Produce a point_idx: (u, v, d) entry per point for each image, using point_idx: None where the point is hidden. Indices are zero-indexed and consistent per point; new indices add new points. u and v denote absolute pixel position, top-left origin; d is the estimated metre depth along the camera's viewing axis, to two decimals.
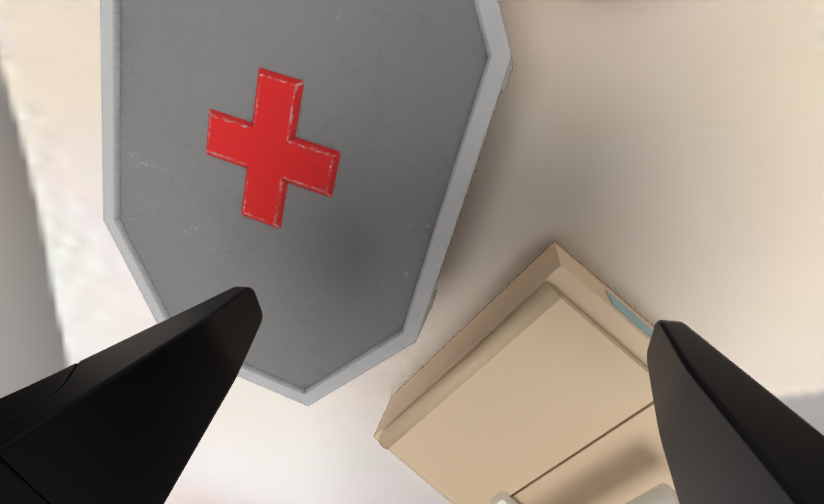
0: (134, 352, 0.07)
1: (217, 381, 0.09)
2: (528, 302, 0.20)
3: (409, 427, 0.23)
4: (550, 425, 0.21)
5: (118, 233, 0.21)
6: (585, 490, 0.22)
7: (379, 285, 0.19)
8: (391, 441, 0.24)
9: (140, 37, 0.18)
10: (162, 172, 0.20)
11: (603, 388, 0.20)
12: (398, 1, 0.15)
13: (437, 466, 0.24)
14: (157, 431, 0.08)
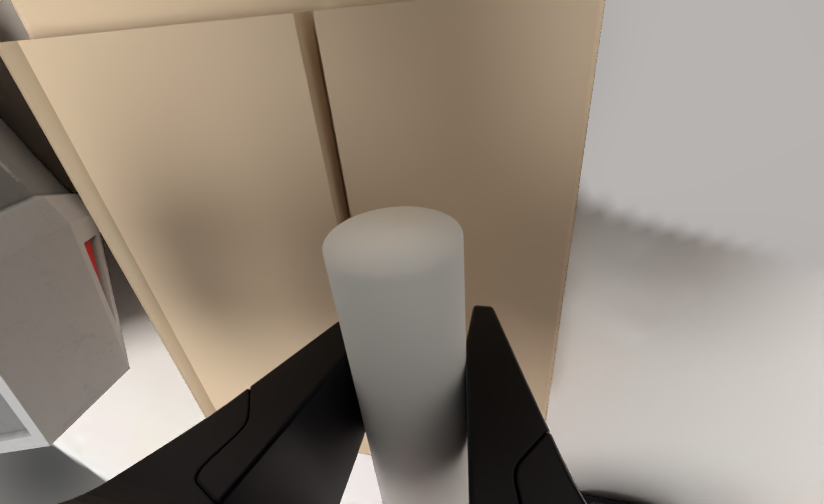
0: (307, 375, 0.07)
1: None
2: None
3: (199, 391, 0.15)
4: (275, 261, 0.11)
5: None
6: None
7: None
8: None
9: None
10: None
11: (235, 129, 0.09)
12: None
13: None
14: (326, 463, 0.07)
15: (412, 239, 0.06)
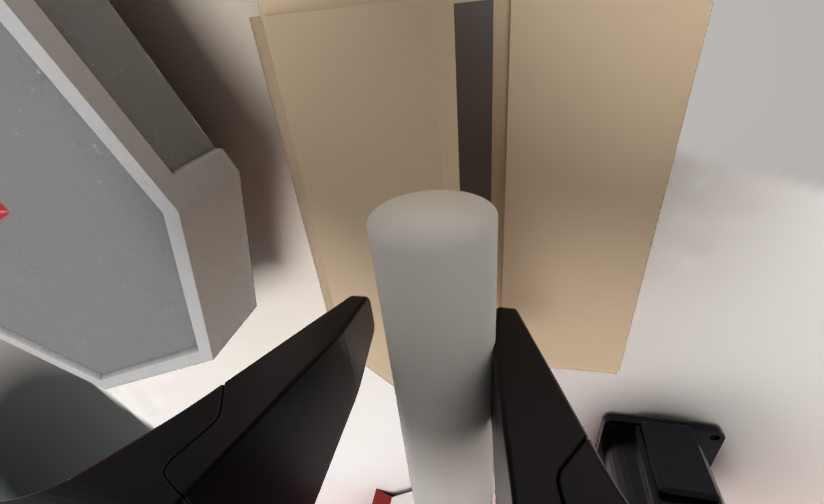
0: (281, 372, 0.07)
1: (344, 400, 0.08)
2: None
3: None
4: None
5: None
6: (563, 231, 0.14)
7: (101, 184, 0.14)
8: None
9: None
10: None
11: (378, 99, 0.10)
12: None
13: (380, 356, 0.17)
14: (301, 458, 0.07)
15: (445, 222, 0.06)
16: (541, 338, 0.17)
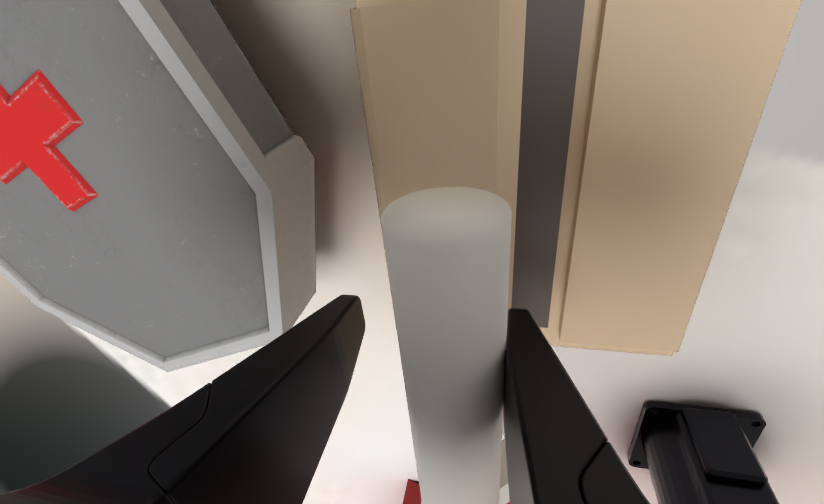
0: (268, 370, 0.07)
1: (334, 398, 0.08)
2: None
3: None
4: None
5: (52, 308, 0.22)
6: (635, 213, 0.15)
7: (196, 167, 0.15)
8: None
9: None
10: (13, 231, 0.19)
11: (447, 92, 0.10)
12: None
13: None
14: (289, 456, 0.07)
15: (453, 219, 0.06)
16: (603, 320, 0.18)
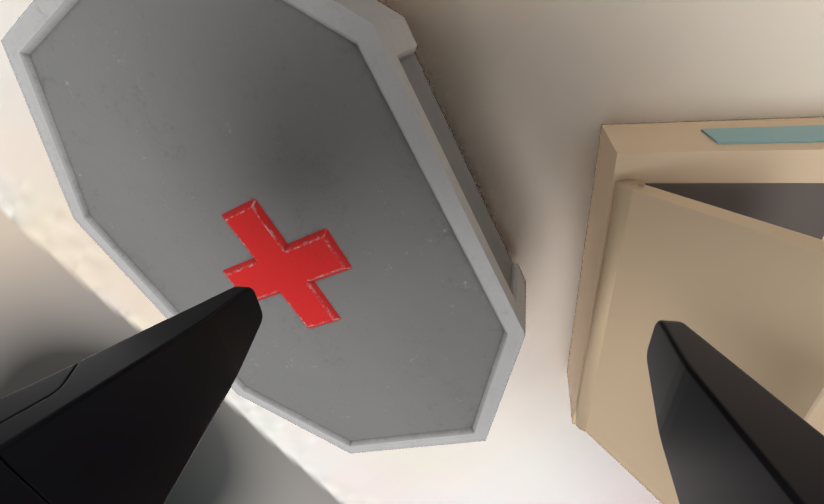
0: (134, 352, 0.07)
1: (217, 381, 0.09)
2: None
3: (587, 400, 0.21)
4: None
5: (252, 397, 0.24)
6: None
7: (452, 308, 0.17)
8: (581, 419, 0.22)
9: (147, 258, 0.20)
10: None
11: (765, 302, 0.12)
12: (253, 72, 0.14)
13: (636, 456, 0.19)
14: (157, 431, 0.08)
15: None
16: None
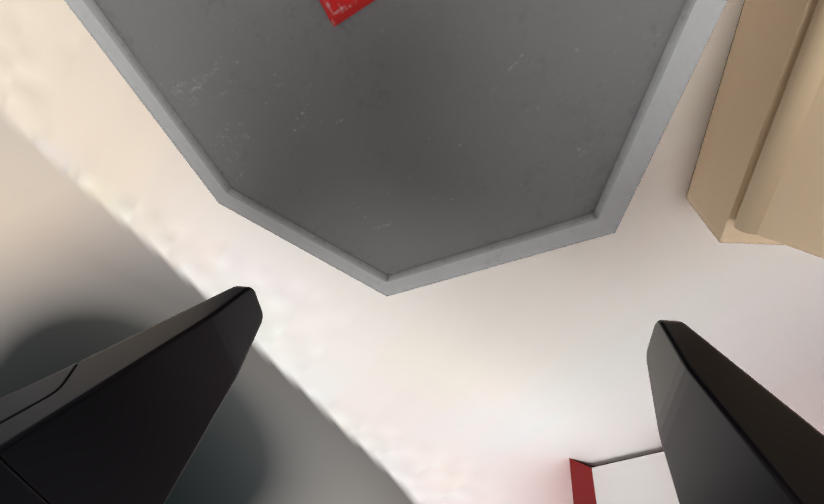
0: (134, 352, 0.07)
1: (217, 381, 0.09)
2: None
3: (776, 168, 0.13)
4: None
5: (241, 205, 0.16)
6: None
7: None
8: (754, 214, 0.14)
9: None
10: (218, 75, 0.13)
11: None
12: None
13: None
14: (157, 431, 0.08)
15: None
16: None
